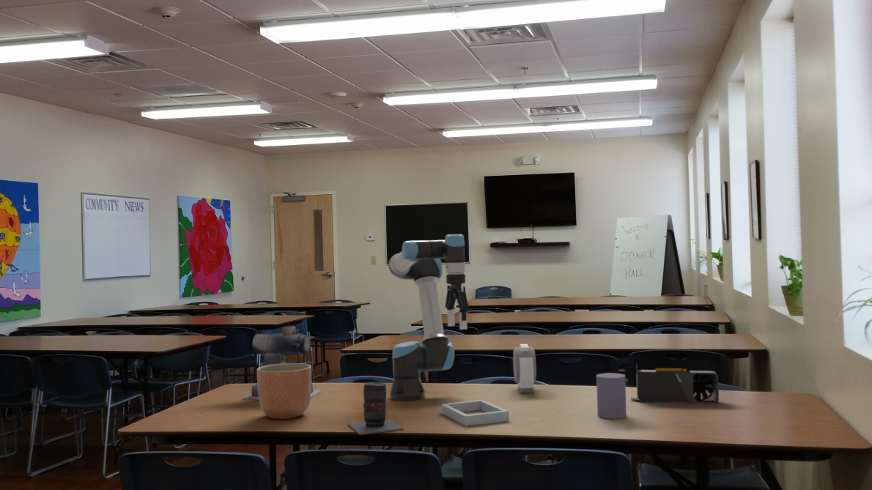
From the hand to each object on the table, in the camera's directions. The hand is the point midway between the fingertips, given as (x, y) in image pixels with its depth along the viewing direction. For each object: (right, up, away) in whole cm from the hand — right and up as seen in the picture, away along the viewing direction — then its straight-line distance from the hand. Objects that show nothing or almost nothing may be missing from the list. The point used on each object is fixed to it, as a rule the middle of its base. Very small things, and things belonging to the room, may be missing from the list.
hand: (457, 327), depth 294 cm
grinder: (-77, -35, +40) cm, 93 cm away
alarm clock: (+31, -32, +35) cm, 57 cm away
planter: (-67, -34, -3) cm, 75 cm away
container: (+56, -31, -19) cm, 67 cm away
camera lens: (-30, -32, -26) cm, 51 cm away
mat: (-30, -33, -26) cm, 52 cm away
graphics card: (+86, -30, +3) cm, 91 cm away
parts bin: (+6, -32, -14) cm, 35 cm away
